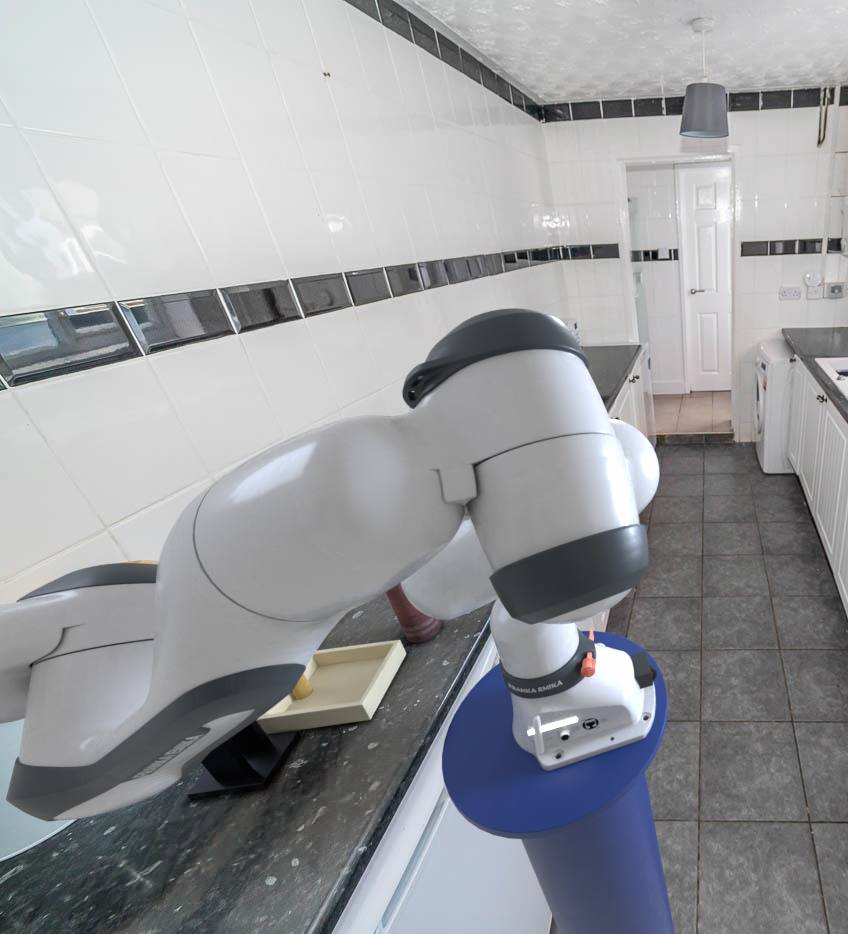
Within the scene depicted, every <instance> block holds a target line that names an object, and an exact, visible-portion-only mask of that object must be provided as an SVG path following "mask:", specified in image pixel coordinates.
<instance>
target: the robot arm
mask: <svg viewBox="0 0 848 934" xmlns="http://www.w3.org/2000/svg"><path fill="white" fill-rule="evenodd" d="M589 369H590V363H589V360H588V357H587V356H586V353H585V352H584V351H583V348H582V346H581V345H580V343H579V342H578V340H577V338H576V337H575V335H574V334H573V333H572V331H571V330H570V328H568V326H567V325H566V324H565V323H564V322H563V321H562V320H561V319H559V318H558V317H555V316H553V315H550V314H546V313H543V312H540V311H536V310H532V309H528V308H517V307H515V308H499V309H494V310H491V311H490V310H489V311H484V312H482V313H479V314H476V315H473V316H472V317H470V318H467V319H465V320H464V321H462V322H461V323H460V324H458V325H457V326H455V327H454V328H452V330H450V331H449V332H448V333H447V334H446V335H444V336H443V337H442V339H440V340H439V341H438V342H437V343H436V344H434V346H433V347H432V348H431V350H430V351H429V352H428V354H427V356H426V358H425V361H424V362H421V363H419V364H417V365H415V366H414V367H413V368H412V369H411V370H410V371H409V372H408V374H407V375H406V377H405V379H404V382H403V387H402V389H401V390H402V391H401V394H402V400H403V401H404V402H405V404H406V405H407V406H408V407H409V408H410V409H412V410H410V411H408V412H406V413H403V414H400V415H378V414H377V415H376V414H369V415H368V414H367V415H364V414H363V415H358V416H351V417H345V418H343V419H339V420H335V421H332V422H328V423H326V424H323V425H320V426H317V427H314V428H311V429H309V430H306V431H304V432H301V433H298V434H296V435H293V436H291V437H288V438H287V439H285V440H283V441H280V442H278V443H276V444H274V445H272V446H270V447H268V448H267V449H265V450H264V449H263V450H262V451H260V452H258V453H257V454H256V455H254V456H252V457H250V458H248V459H247V460H245V461H243V462H242V463H240V464H239V465H237V466H236V467H234V468H233V469H231V470H230V471H229V472H227V473H225V474H223V476H221V477H219V478H218V479H216V480H215V481H213V482H212V483H211V484H209V485H208V486H207V487H206V488H204V489H203V490H202V491H201V492H199V493H198V494H197V495H196V496H195V497H194V498H193V499H192V500H191V501H190V502H188V504H186V507H184V508H183V510H182V511H181V513H180V514H179V516H178V517H177V519H176V520H175V522H174V524H173V525H172V527H171V528H170V531H169V532H168V534H167V536H166V538H165V541H164V543H163V545H162V548H161V550H160V554H159V557H158V562H157V563H142V562H116V563H115V562H113V563H105V564H99V565H93V566H88V567H84V568H81V569H76V570H74V571H71V572H69V573H66V574H64V575H62V576H60V577H58V578H56V579H53V580H52V581H49V582H48V583H45V584H43V585H42V586H39V587H37V588H36V589H33V590H32V591H30V592H28V593H26V594H25V595H23V596H21V597H20V598H18V599H17V600H16V601H15V602H10V603H4V604H3V603H1V604H0V725H1V724H7V723H8V724H9V723H12V722H18V721H22V720H23V728H22V734H21V739H20V740H21V741H20V746H19V754H18V756H17V757H16V758H15V760H14V765H13V769H12V772H11V778H10V780H9V786H8V789H7V793H6V796H5V801H6V802H8V803H9V804H11V805H12V806H13V807H15V808H16V809H18V810H20V811H21V812H23V813H25V814H26V815H28V816H31V817H34V818H36V819H38V820H41V821H44V822H56V821H71V820H80V819H86V818H90V817H91V818H92V817H95V816H100V815H104V814H107V813H112V812H114V811H117V810H121V809H123V808H124V809H125V808H127V807H129V806H132V805H135V804H136V803H139V802H142V801H144V800H146V799H149V798H152V797H154V796H156V795H157V794H159V793H161V792H162V791H165V790H166V789H168V788H169V787H171V786H172V785H174V784H176V783H178V782H181V781H182V780H183V779H186V778H187V777H188V776H189V775H190V774H191V773H192V772H193V771H194V770H195V769H196V768H197V767H198V766H199V765H200V764H202V763H201V762H202V761H203V759H204V758H205V757H206V756H207V755H208V754H209V753H210V752H211V751H212V750H214V749H215V748H216V747H218V746H219V745H221V744H222V743H224V742H225V741H227V740H228V739H229V738H231V737H232V736H234V735H235V734H237V733H238V732H239V731H241V730H242V729H244V728H245V727H246V726H248V725H249V724H251V723H252V722H254V721H255V720H256V721H257V719H258V718H259V717H261V716H262V715H263V714H265V713H266V712H267V711H269V710H270V709H271V708H273V707H274V706H275V705H277V704H278V703H279V702H280V701H282V700H283V699H284V698H285V697H287V696H288V695H289V694H290V693H291V692H292V691H293V689H294V688H295V686H296V685H297V683H298V681H299V680H300V678H301V676H302V675H303V673H304V671H305V670H306V666H307V664H308V663H309V661H310V660H311V658H312V657H313V655H314V654H315V652H316V651H318V650H319V648H320V647H321V645H322V643H323V642H324V641H325V640H326V638H327V637H328V635H329V634H330V633H331V631H332V630H333V629H334V628H335V627H336V626H337V624H338V623H339V622H340V621H341V620H342V619H343V618H344V617H345V616H346V614H348V613H349V612H350V611H352V610H354V609H357V608H359V607H361V606H363V605H365V604H366V603H369V602H371V601H372V600H374V599H376V598H378V597H380V596H381V595H384V594H386V592H387V591H388V590H390V589H392V588H393V587H395V586H396V585H398V584H399V583H401V586H402V589H403V592H404V594H405V596H406V598H407V599H408V601H409V602H410V603H411V604H412V605H413V606H414V607H415V608H416V609H417V610H419V611H420V612H422V613H423V614H425V615H427V616H430V617H432V618H436V619H440V621H451V620H453V619H455V618H458V617H461V616H463V615H465V614H468V613H470V612H472V611H474V610H477V609H479V608H481V607H483V606H486V605H489V604H490V603H492V602H494V603H493V606H492V608H491V611H490V615H489V630H490V633H491V635H492V639H493V642H494V644H495V647H496V650H497V654H498V656H499V659H498V664H499V665H500V670H501V674H502V677H503V680H504V682H505V685H506V688H507V689H508V690H509V691H510V693H511V698H512V705H513V725H512V728H513V735H514V738H515V740H516V742H517V743H518V744H519V746H520V747H521V748H523V749H524V750H525V751H527V752H529V753H531V754H533V755H534V756H535V757H536V758H537V760H538V761H539V763H540V765H541V766H542V768H543V769H545V770H547V771H551V770H554V769H557V768H560V767H563V766H566V765H569V764H572V763H575V762H578V761H581V760H584V759H587V758H590V757H592V756H595V755H598V754H601V753H604V752H607V751H610V750H613V749H616V748H619V747H622V746H625V745H628V744H631V743H634V742H637V741H640V740H642V739H644V738H645V737H646V736H647V734H648V732H649V731H650V729H651V726H652V724H653V720H654V716H655V709H656V694H655V686H654V682H653V681H654V680H655V678H656V676H657V670H656V669H655V668H654V667H653V666H651V665H649V661H648V657H647V653H648V652H647V650H645V651H644V652H641V653H637V654H634V655H631V657H630V656H629V655H628V654H627V653H626V652H624V651H620V650H617V649H613V648H609V647H606V646H605V645H604V644H602V643H596V644H595V643H594V635H593V631H594V630H593V627H590V629H589V631H590V636H589V638H588V637H586V636H585V635H584V634H583V633H582V632H581V631H582V630H580V629H579V628H578V627H577V623H580V622H584V621H587V620H590V619H592V618H596V617H598V616H600V615H601V614H604V613H605V612H607V611H609V610H610V609H612V608H613V607H615V606H616V605H617V604H619V603H620V602H621V601H622V600H623V599H624V598H626V596H627V595H628V594H629V593H630V592H631V591H632V590H633V589H634V588H636V587H638V586H639V585H641V583H642V580H643V578H644V577H645V575H646V571H647V569H648V567H649V563H650V561H649V559H650V558H649V557H650V554H649V540H648V534H647V526H646V525H645V524H641V522H640V514H641V513H642V512H643V511H644V510H645V509H646V508H647V506H648V505H649V504H650V502H651V501H652V500H653V498H654V496H655V494H656V493H657V489H658V486H659V482H660V464H659V459H658V456H657V453H656V451H655V449H654V447H653V445H652V443H651V442H650V440H649V439H648V438H647V436H645V435H644V433H642V432H641V431H640V430H639V429H638V428H636V426H633V425H632V424H630V423H629V422H625V421H623V420H620V419H615V418H610V415H609V413H608V411H607V408H606V405H605V403H604V401H603V399H602V397H601V394H600V392H599V390H598V388H597V385H596V383H595V381H594V380H593V378H592V376H591V374H590V371H589ZM646 652H647V653H646ZM631 658H632V659H631ZM651 671H652V672H653V675H652V672H651ZM645 719H648V720H646V721H644V720H645ZM559 756H561V758H559V759H557V758H558V757H559Z"/></svg>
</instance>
